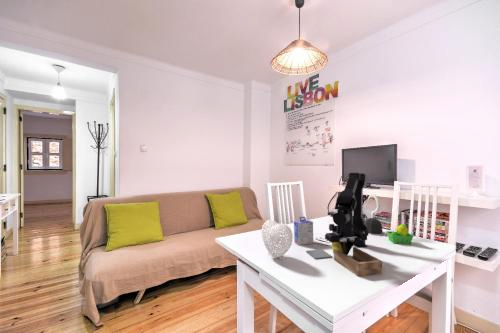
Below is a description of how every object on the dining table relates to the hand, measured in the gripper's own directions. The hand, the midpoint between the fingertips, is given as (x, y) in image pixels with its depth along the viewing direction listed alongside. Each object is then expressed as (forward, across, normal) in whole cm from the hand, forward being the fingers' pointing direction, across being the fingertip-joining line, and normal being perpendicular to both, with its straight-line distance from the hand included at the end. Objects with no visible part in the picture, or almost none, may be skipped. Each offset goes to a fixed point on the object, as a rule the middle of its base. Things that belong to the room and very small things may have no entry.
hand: (345, 254), depth 104 cm
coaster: (+2, +9, -8) cm, 13 cm away
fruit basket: (+2, -45, -14) cm, 47 cm away
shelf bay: (+2, 0, +7) cm, 7 cm away
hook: (+2, -44, -33) cm, 55 cm away
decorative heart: (+3, +31, -9) cm, 32 cm away
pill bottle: (+2, 0, -4) cm, 4 cm away
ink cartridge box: (+2, +9, -25) cm, 27 cm away
